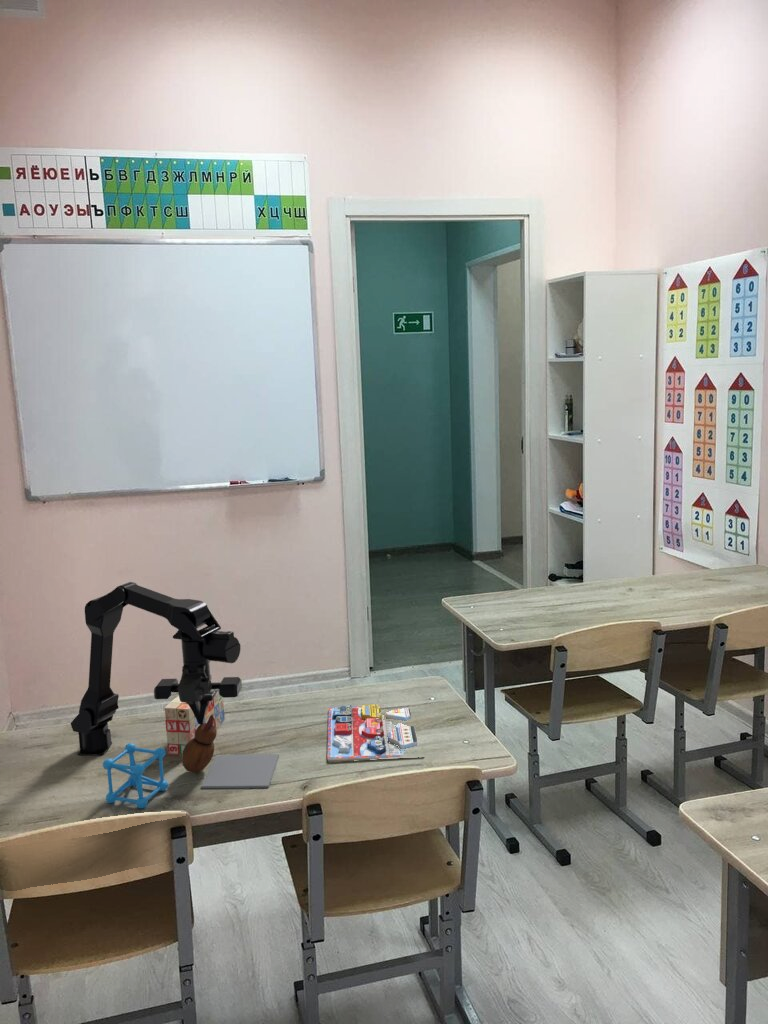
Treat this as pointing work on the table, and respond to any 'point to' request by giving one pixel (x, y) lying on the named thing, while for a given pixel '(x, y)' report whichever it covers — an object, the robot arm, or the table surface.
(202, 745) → the wooden figurine
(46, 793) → the table surface
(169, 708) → the stack of blocks
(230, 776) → the felt mat
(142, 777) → the molecular structure
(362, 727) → the puzzle board
